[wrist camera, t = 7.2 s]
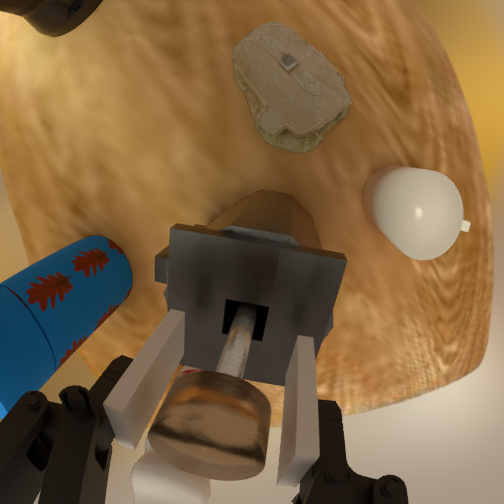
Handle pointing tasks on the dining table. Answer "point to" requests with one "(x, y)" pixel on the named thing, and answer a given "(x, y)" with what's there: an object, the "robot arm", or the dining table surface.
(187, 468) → the plunger
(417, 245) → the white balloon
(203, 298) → the press body
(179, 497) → the fruit juice
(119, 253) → the thermos
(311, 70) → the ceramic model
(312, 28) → the dining table surface
